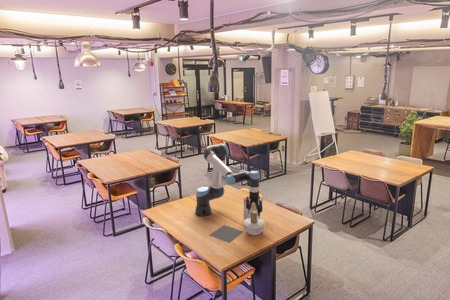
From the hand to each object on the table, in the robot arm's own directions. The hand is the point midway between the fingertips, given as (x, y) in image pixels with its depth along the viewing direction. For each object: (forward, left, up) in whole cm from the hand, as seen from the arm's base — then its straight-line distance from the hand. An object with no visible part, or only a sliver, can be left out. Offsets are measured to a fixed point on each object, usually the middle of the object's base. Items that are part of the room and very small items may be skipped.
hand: (254, 218), depth 244 cm
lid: (0, 0, -5) cm, 5 cm away
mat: (-17, -14, -12) cm, 25 cm away
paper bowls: (0, 0, -13) cm, 13 cm away
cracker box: (-13, +18, -13) cm, 26 cm away
